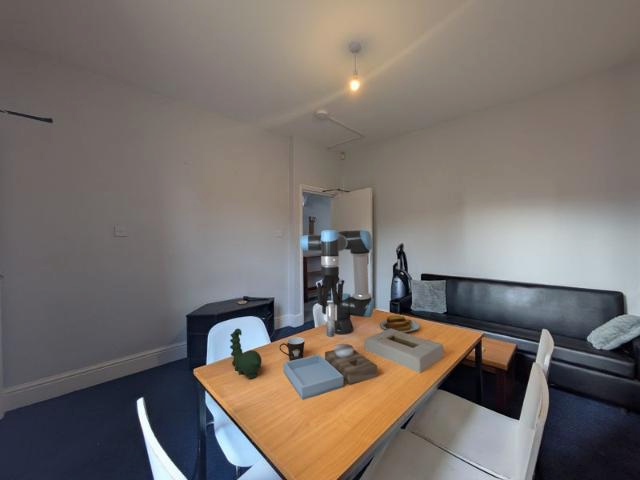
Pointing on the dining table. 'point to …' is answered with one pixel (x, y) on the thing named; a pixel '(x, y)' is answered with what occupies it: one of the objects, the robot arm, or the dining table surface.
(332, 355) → the block
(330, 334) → the lock pin
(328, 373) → the tray
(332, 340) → the dining table surface
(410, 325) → the food on plate
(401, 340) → the slotted block
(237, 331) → the toy figurine
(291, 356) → the coffee mug
